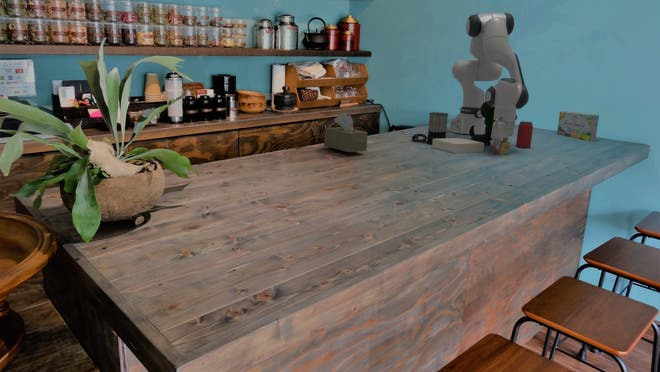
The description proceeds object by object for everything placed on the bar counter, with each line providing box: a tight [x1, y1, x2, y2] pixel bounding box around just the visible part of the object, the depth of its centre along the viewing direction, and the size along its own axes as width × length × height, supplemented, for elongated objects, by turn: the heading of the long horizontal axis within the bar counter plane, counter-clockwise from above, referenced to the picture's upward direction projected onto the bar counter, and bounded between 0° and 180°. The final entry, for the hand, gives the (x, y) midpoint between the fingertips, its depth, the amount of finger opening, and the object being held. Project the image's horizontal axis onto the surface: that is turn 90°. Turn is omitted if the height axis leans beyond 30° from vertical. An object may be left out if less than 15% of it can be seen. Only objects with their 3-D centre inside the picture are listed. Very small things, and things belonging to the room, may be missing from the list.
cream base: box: [431, 137, 485, 154], centre depth 226 cm, size 16×16×4 cm
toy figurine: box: [468, 100, 496, 147], centre depth 243 cm, size 9×19×25 cm, turn 27°
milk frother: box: [411, 111, 449, 145], centre depth 244 cm, size 14×16×15 cm
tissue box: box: [323, 111, 368, 153], centre depth 218 cm, size 19×10×16 cm, turn 35°
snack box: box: [556, 110, 600, 142], centre depth 274 cm, size 21×6×15 cm, turn 25°
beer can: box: [515, 120, 534, 149], centre depth 242 cm, size 7×7×12 cm
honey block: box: [491, 140, 511, 155], centre depth 222 cm, size 5×5×5 cm
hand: (500, 148), depth 222 cm, fingers closed on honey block, 6 cm apart
